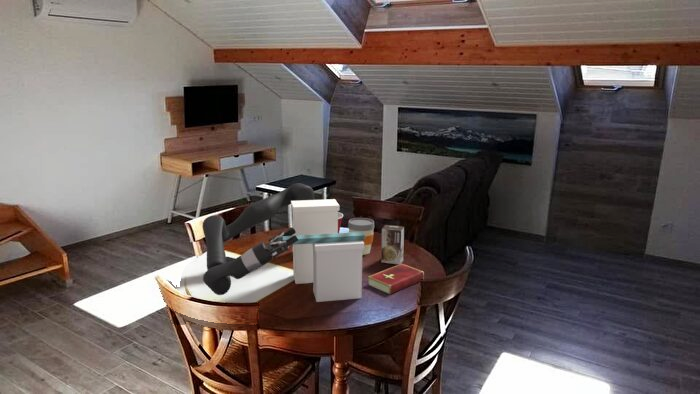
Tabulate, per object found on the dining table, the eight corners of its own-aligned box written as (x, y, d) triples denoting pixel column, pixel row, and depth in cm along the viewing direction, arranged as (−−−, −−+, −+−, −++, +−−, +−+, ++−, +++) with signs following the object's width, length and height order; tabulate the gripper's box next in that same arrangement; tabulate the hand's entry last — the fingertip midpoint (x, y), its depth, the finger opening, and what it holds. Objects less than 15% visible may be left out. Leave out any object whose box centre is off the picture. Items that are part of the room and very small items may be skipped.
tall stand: (294, 284, 188) (293, 207, 180) (292, 274, 197) (290, 200, 189) (338, 281, 191) (339, 205, 184) (334, 271, 201) (334, 199, 193)
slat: (283, 245, 168) (283, 239, 167) (282, 241, 172) (282, 236, 171) (364, 240, 174) (364, 235, 174) (362, 237, 178) (362, 232, 177)
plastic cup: (320, 239, 241) (320, 216, 238) (324, 232, 252) (324, 211, 249) (341, 240, 239) (341, 218, 237) (344, 234, 250) (345, 212, 247)
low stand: (315, 302, 173) (315, 246, 167) (311, 291, 182) (311, 237, 177) (363, 298, 176) (364, 243, 171) (357, 287, 186) (358, 234, 181)
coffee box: (403, 260, 215) (405, 226, 211) (400, 265, 209) (401, 230, 205) (384, 257, 218) (385, 224, 214) (380, 262, 212) (381, 228, 208)
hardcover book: (423, 280, 194) (424, 271, 193) (389, 295, 180) (390, 285, 179) (401, 272, 203) (401, 262, 202) (367, 285, 189) (367, 276, 188)
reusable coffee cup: (360, 245, 233) (361, 216, 230) (379, 251, 225) (380, 221, 221) (342, 251, 225) (342, 221, 221) (360, 258, 216) (361, 227, 213)
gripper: (251, 256, 161) (292, 231, 162) (251, 242, 175) (288, 219, 175) (263, 272, 163) (303, 248, 164) (261, 258, 177) (299, 235, 178)
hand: (295, 233), depth 170 cm, fingers open, 8 cm apart
